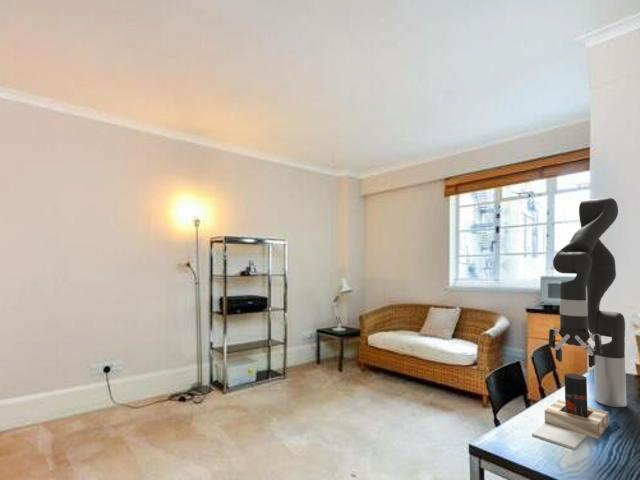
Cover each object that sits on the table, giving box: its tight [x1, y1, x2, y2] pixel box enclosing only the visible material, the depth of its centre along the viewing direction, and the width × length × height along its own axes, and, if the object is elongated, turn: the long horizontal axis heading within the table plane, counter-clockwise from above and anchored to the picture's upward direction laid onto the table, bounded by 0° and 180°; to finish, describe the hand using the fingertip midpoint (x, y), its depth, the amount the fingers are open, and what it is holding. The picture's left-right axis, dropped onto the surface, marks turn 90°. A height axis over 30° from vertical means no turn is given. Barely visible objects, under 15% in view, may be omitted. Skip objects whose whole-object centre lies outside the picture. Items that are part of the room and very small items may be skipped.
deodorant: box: [564, 373, 589, 418], centre depth 121 cm, size 6×6×15 cm
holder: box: [544, 399, 610, 439], centre depth 121 cm, size 14×14×4 cm
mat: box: [531, 422, 587, 451], centre depth 112 cm, size 11×11×1 cm
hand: (575, 364), depth 121 cm, fingers open, 8 cm apart
